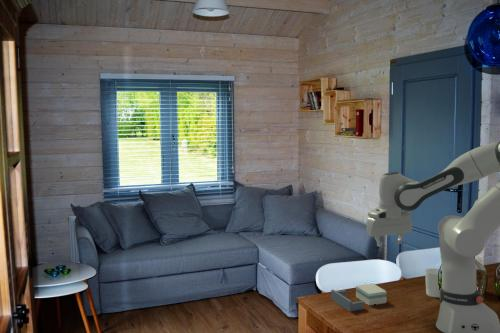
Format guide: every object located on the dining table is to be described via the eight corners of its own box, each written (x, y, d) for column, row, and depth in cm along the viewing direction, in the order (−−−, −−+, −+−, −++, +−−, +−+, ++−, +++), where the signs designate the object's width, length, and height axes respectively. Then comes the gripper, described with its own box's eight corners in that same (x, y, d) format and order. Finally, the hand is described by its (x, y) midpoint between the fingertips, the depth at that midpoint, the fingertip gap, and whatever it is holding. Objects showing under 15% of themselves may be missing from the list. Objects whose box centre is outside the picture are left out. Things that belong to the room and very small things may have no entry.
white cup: (422, 291, 209) (422, 268, 208) (441, 291, 209) (441, 268, 208) (428, 298, 202) (428, 274, 200) (447, 298, 201) (448, 274, 200)
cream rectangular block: (372, 294, 207) (372, 283, 207) (386, 303, 198) (386, 291, 197) (355, 297, 205) (355, 285, 204) (368, 306, 195) (368, 294, 195)
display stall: (344, 296, 205) (344, 287, 205) (364, 309, 192) (364, 299, 192) (331, 299, 203) (331, 289, 202) (349, 311, 190) (349, 301, 189)
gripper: (406, 208, 207) (405, 240, 208) (364, 212, 200) (363, 245, 201) (416, 211, 201) (415, 244, 203) (373, 215, 194) (372, 249, 195)
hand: (389, 244), depth 202 cm, fingers open, 8 cm apart
